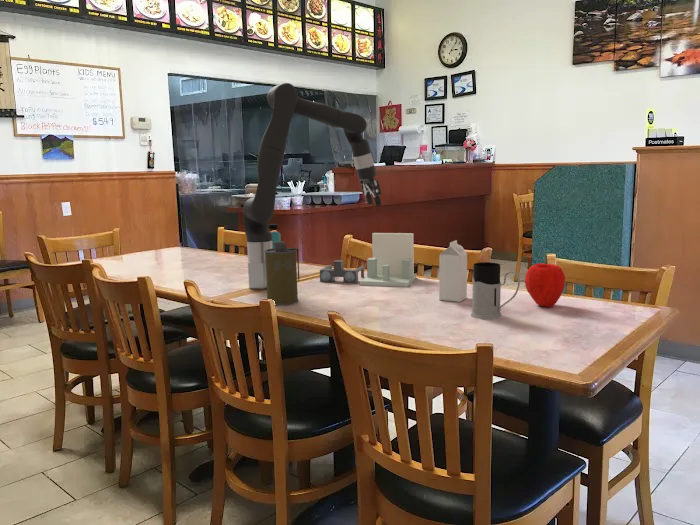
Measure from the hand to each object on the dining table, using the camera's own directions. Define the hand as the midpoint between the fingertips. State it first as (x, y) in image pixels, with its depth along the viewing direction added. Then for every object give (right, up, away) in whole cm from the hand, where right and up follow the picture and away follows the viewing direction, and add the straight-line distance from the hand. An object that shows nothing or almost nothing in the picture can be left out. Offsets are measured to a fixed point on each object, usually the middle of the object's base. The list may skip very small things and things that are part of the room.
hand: (374, 204), depth 232 cm
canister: (-32, -37, -44) cm, 66 cm away
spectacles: (-13, -30, -8) cm, 34 cm away
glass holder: (+32, -39, -69) cm, 85 cm away
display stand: (+5, -31, -15) cm, 34 cm away
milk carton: (+24, -36, -46) cm, 63 cm away
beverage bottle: (-43, -27, +17) cm, 53 cm away
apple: (+50, -37, -58) cm, 85 cm away
